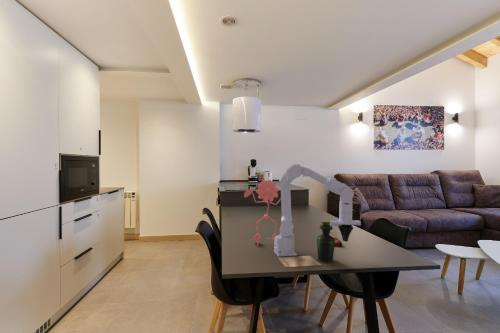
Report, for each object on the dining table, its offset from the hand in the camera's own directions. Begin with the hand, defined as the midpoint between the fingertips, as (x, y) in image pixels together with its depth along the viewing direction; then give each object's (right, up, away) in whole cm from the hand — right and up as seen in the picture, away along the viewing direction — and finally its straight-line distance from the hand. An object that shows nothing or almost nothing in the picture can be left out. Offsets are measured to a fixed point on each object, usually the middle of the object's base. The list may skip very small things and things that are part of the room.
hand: (345, 240), depth 123 cm
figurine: (-35, -8, +24) cm, 43 cm away
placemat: (-22, -8, -4) cm, 24 cm away
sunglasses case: (+1, -9, +26) cm, 28 cm away
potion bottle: (-10, -9, -2) cm, 13 cm away
